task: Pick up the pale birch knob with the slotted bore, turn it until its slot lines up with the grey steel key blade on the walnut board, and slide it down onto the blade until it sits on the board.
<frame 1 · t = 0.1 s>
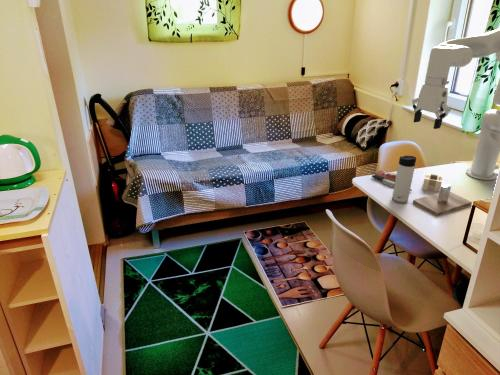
hand: (426, 125, 152), 31 cm above the table, tool pointing down, fingers open, 9 cm apart
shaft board: (441, 204, 158), on the table
travel mug: (400, 200, 161), on the table
walkie-talkie: (393, 184, 176), on the table
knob: (431, 187, 172), on the table
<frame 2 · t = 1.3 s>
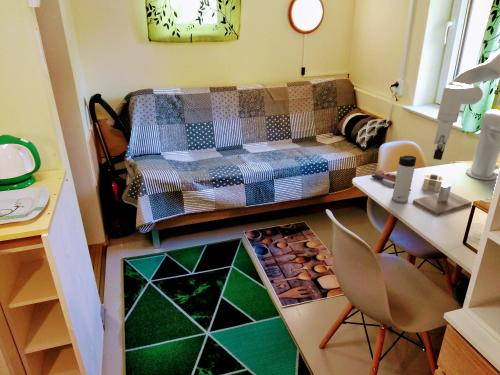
hand: (438, 155, 165), 15 cm above the table, tool pointing down, fingers open, 9 cm apart
nothing on the table moved.
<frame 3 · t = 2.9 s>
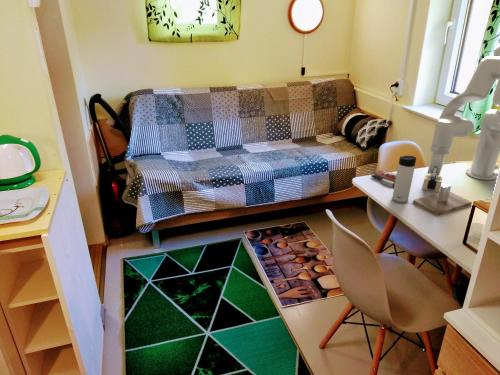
hand: (431, 185, 171), 1 cm above the table, tool pointing down, fingers closed on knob, 7 cm apart
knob: (431, 187, 172), on the table, touching gripper
everything else where it was.
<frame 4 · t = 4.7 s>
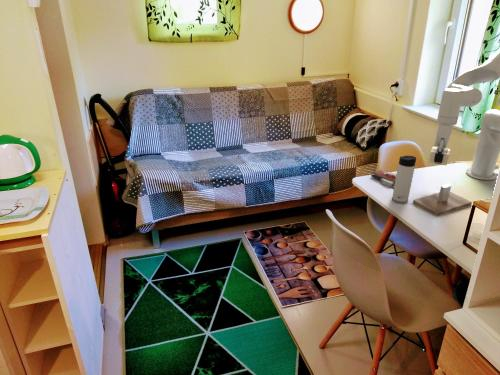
hand: (438, 158, 166), 14 cm above the table, tool pointing down, fingers closed on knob, 7 cm apart
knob: (438, 161, 166), point 13 cm above the table, touching gripper
everything else where it was.
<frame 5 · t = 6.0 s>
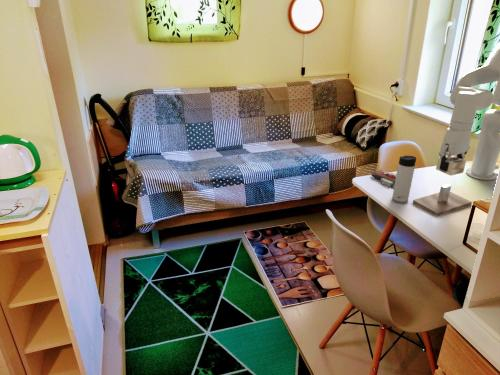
hand: (450, 168, 151), 16 cm above the table, tool pointing down, fingers closed on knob, 7 cm apart
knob: (449, 170, 152), point 15 cm above the table, touching gripper
everything else where it was.
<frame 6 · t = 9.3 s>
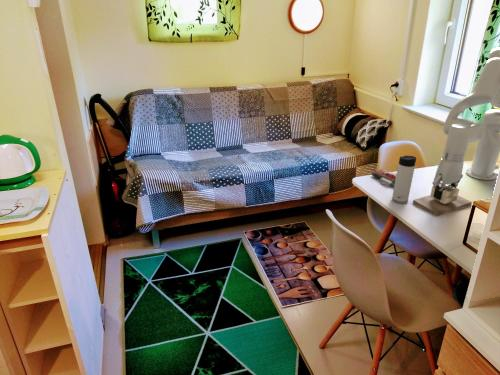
hand: (443, 196, 156), 4 cm above the table, tool pointing down, fingers closed on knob, 7 cm apart
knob: (443, 198, 157), point 3 cm above the table, touching gripper
when the fingers open (4 cm above the table, at t = 9.3 s): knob drops 1 cm, resting on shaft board.
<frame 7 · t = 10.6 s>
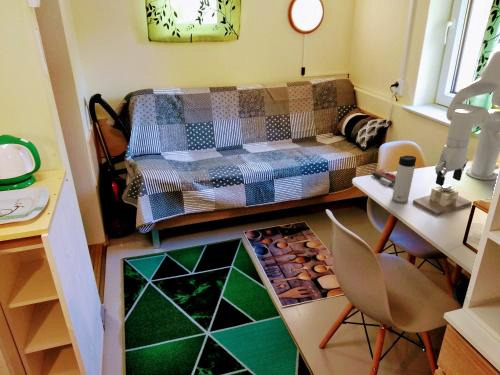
hand: (447, 182, 154), 10 cm above the table, tool pointing down, fingers open, 9 cm apart
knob: (442, 200, 157), point 1 cm above the table, touching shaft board
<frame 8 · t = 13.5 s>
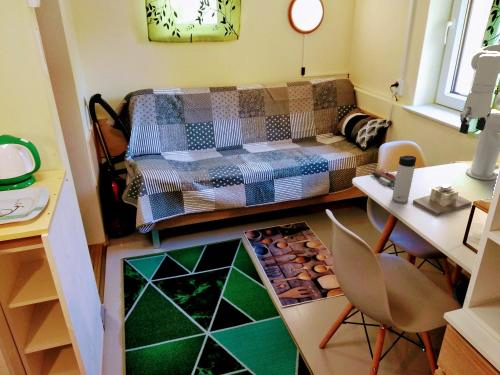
hand: (471, 131, 154), 28 cm above the table, tool pointing down, fingers open, 9 cm apart
at the end: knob 0.0 cm off-centre on the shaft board, point 1.5 cm above the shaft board's base; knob tilted 0°; the gripper is holding nothing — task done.
